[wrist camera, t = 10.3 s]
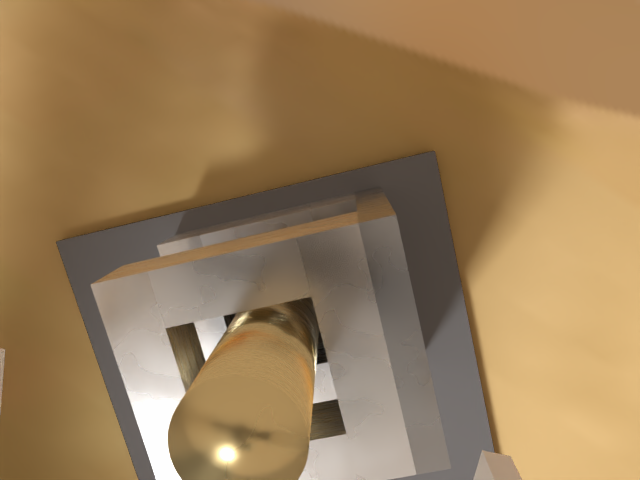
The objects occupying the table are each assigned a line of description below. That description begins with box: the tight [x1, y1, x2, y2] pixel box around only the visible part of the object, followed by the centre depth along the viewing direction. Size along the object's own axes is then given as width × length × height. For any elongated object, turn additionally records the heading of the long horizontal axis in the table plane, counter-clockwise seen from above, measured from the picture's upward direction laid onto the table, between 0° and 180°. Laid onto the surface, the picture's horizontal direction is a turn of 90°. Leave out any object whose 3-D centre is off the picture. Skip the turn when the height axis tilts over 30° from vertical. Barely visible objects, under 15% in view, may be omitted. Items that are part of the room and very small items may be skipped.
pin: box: [167, 297, 319, 480], centre depth 19 cm, size 4×4×13 cm
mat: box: [56, 151, 495, 480], centre depth 27 cm, size 19×25×1 cm
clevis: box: [91, 186, 451, 480], centre depth 21 cm, size 10×9×8 cm
